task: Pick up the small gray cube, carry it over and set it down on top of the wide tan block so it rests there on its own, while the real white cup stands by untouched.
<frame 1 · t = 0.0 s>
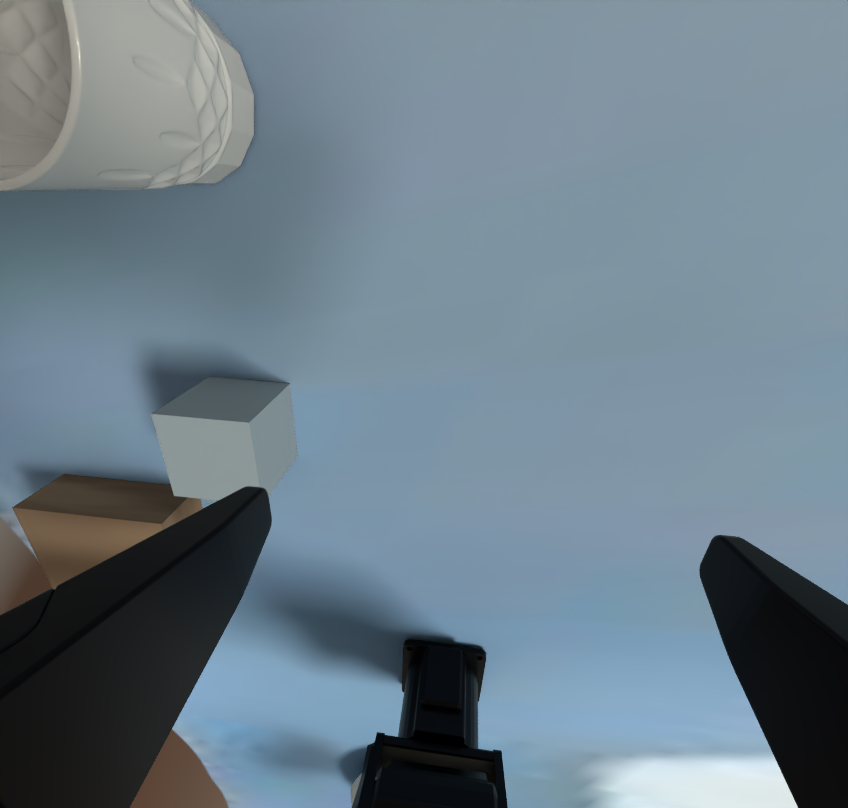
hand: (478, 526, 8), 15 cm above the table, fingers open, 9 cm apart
white cup: (187, 102, 19), on the table
gray cube: (255, 416, 25), on the table
tan block: (151, 531, 31), on the table
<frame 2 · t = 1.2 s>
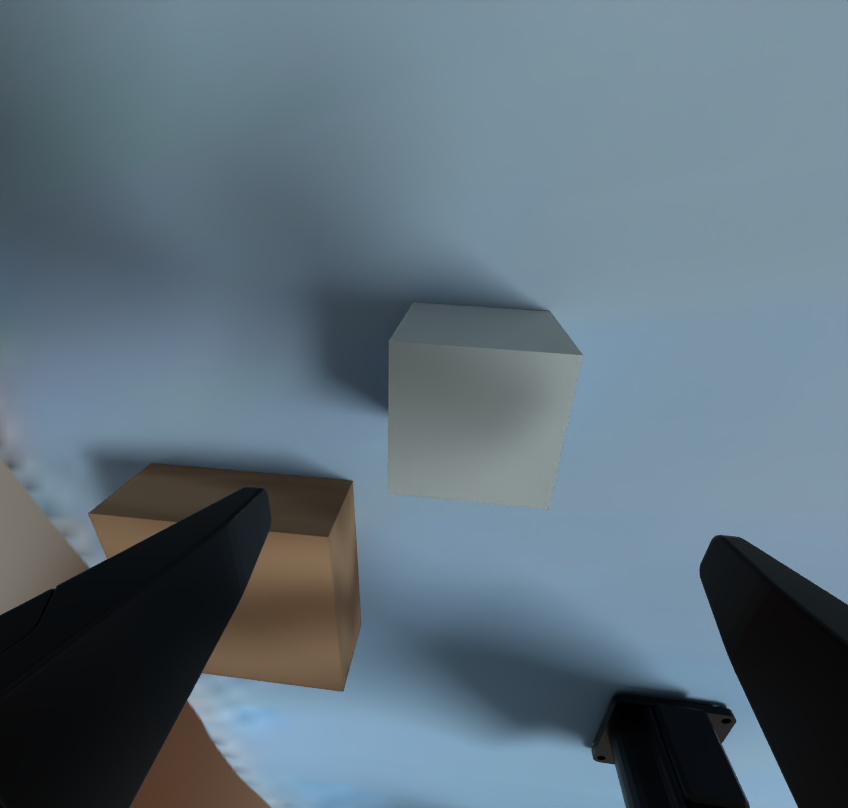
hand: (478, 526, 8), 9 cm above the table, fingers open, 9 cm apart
gray cube: (474, 369, 16), on the table
tan block: (267, 545, 22), on the table
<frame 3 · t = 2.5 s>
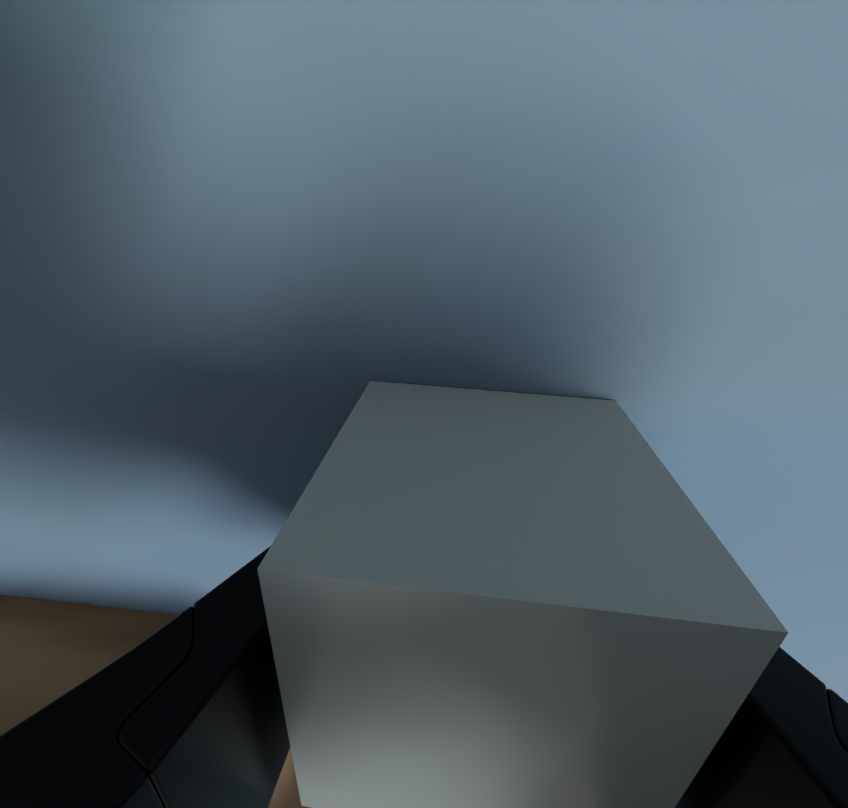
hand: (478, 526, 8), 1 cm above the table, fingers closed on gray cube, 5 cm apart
gray cube: (477, 489, 9), on the table, touching gripper
tan block: (181, 693, 15), on the table
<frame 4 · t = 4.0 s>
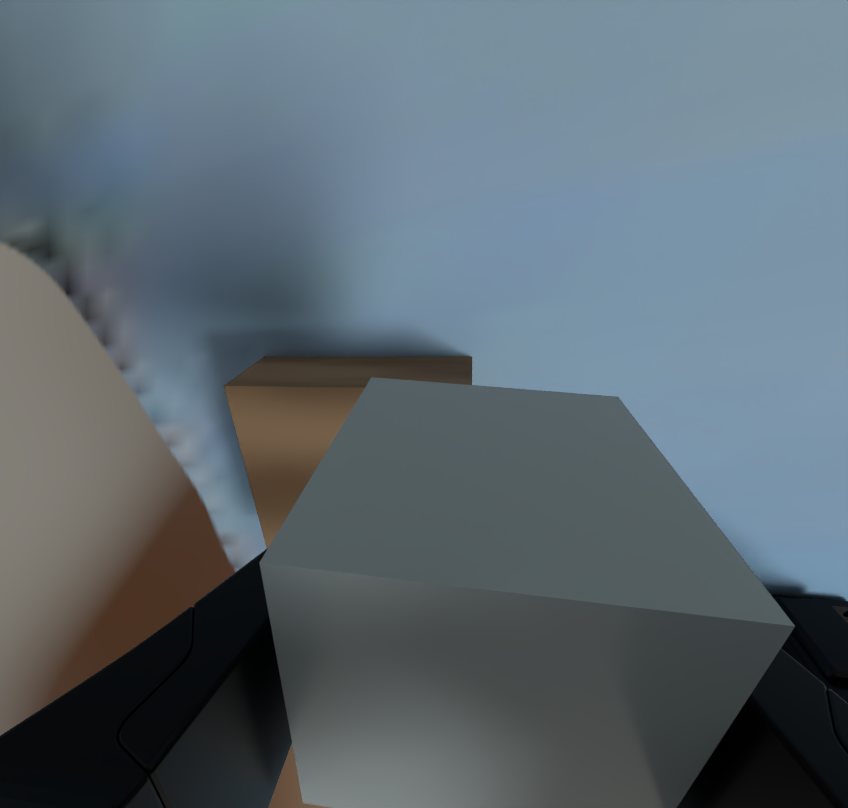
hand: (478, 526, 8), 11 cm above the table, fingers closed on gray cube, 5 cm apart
gray cube: (479, 486, 9), point 10 cm above the table, touching gripper
tan block: (376, 444, 22), on the table
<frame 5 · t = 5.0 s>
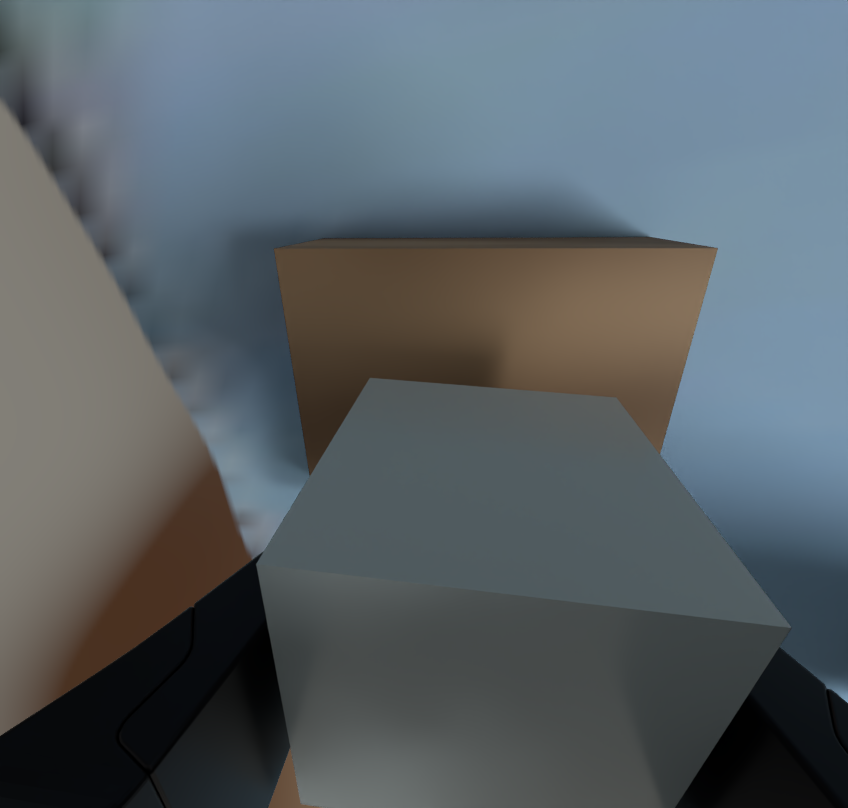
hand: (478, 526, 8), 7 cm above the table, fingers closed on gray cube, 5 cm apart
gray cube: (478, 486, 9), point 6 cm above the table, touching gripper
tan block: (473, 383, 15), on the table
when the fingers open (6 cm above the table, at t = 5.6 s): gray cube stays where it is, resting on tan block.
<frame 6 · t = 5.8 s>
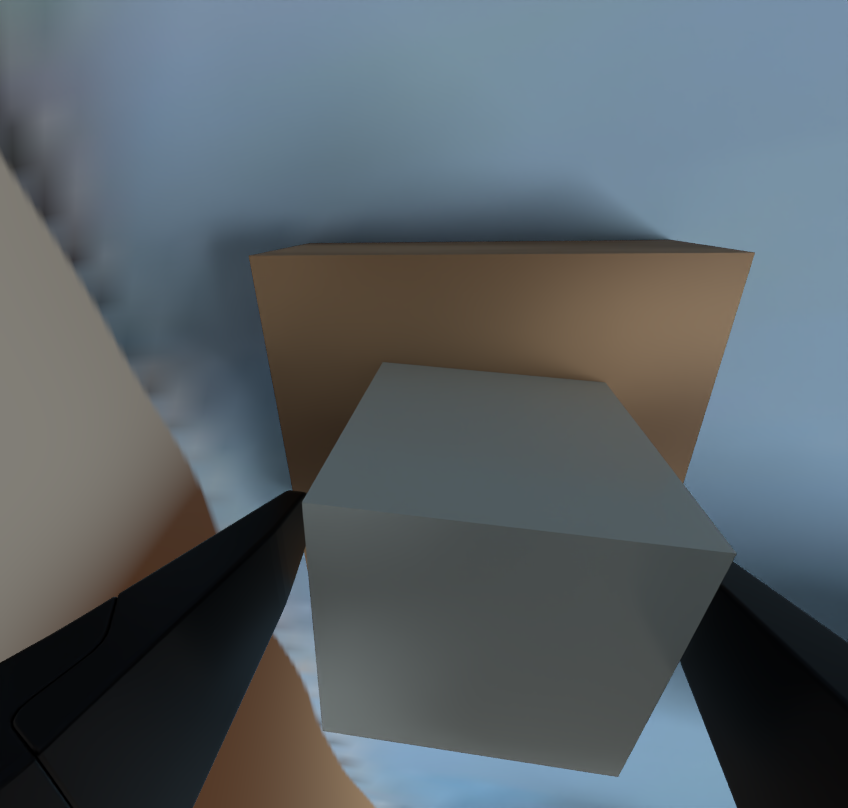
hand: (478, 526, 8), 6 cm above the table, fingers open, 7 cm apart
gray cube: (479, 464, 10), point 4 cm above the table, touching tan block
tan block: (475, 398, 14), on the table, touching gray cube
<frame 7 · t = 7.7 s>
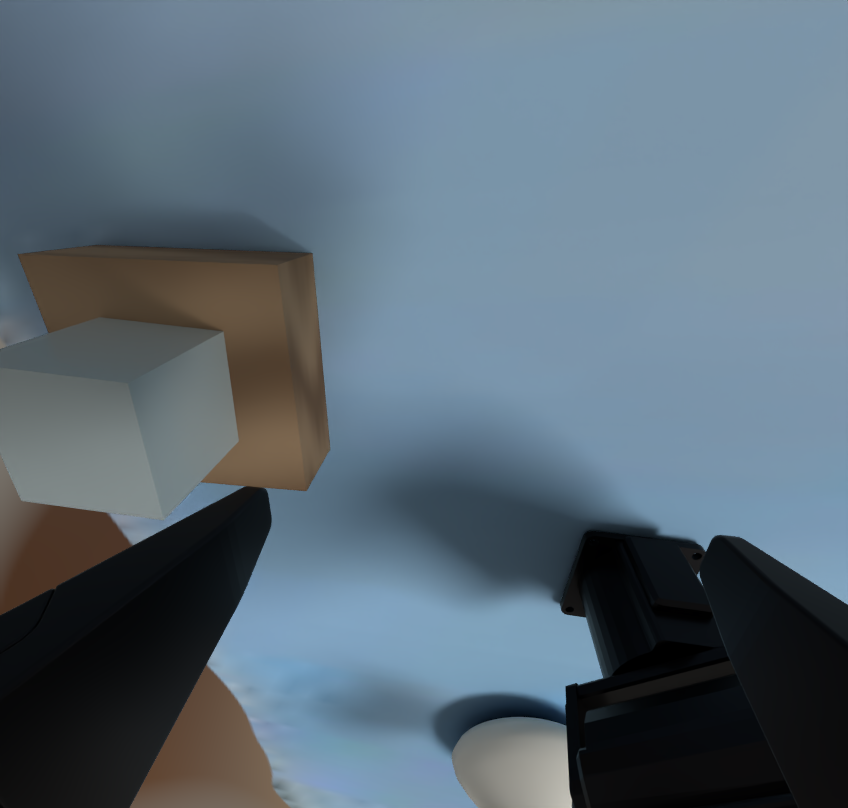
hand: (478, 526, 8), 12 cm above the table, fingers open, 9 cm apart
flower in vase: (525, 742, 33), on the table
gray cube: (173, 382, 17), point 4 cm above the table
tan block: (227, 353, 21), on the table
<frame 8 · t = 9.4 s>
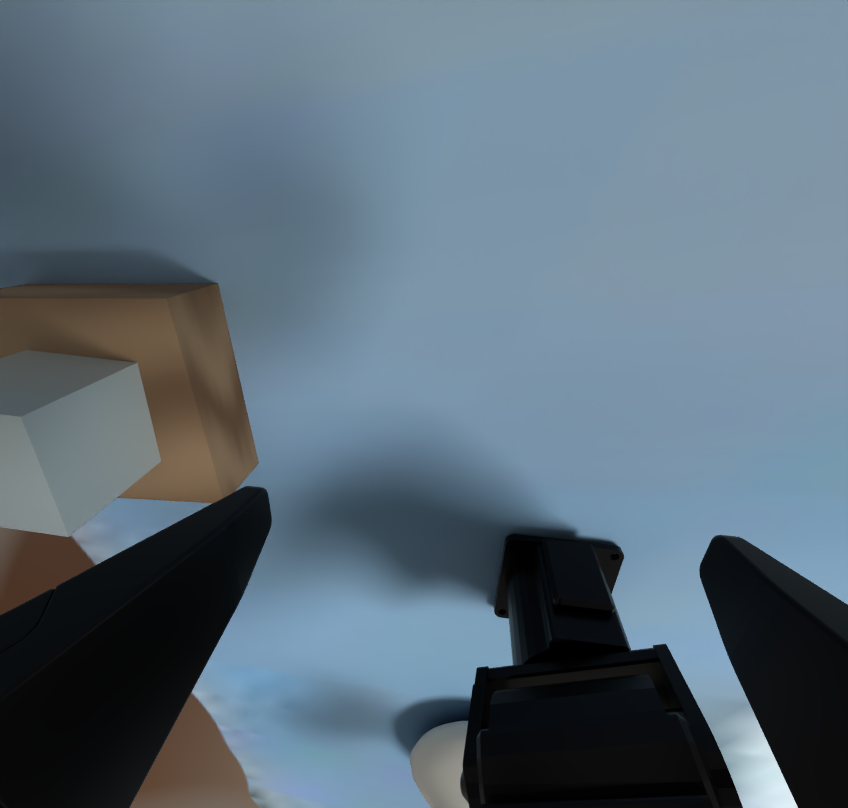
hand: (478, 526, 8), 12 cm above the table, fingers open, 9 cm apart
flower in vase: (485, 746, 34), on the table
gray cube: (97, 408, 19), point 4 cm above the table, touching tan block
tan block: (156, 377, 22), on the table, touching gray cube
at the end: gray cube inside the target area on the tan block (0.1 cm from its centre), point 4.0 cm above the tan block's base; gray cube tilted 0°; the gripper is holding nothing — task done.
